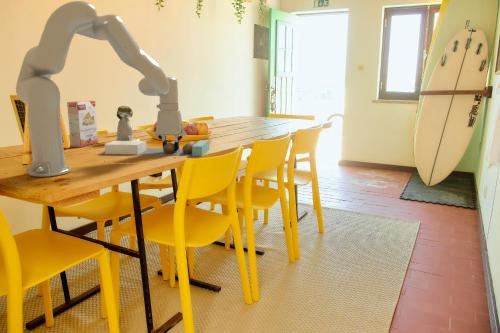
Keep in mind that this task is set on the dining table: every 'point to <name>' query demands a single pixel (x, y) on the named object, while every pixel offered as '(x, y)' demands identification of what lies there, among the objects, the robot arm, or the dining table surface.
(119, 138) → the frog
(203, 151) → the stop block
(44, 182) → the dining table surface
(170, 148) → the roller
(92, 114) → the cracker box
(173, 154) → the mat
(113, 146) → the slab
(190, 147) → the roller
